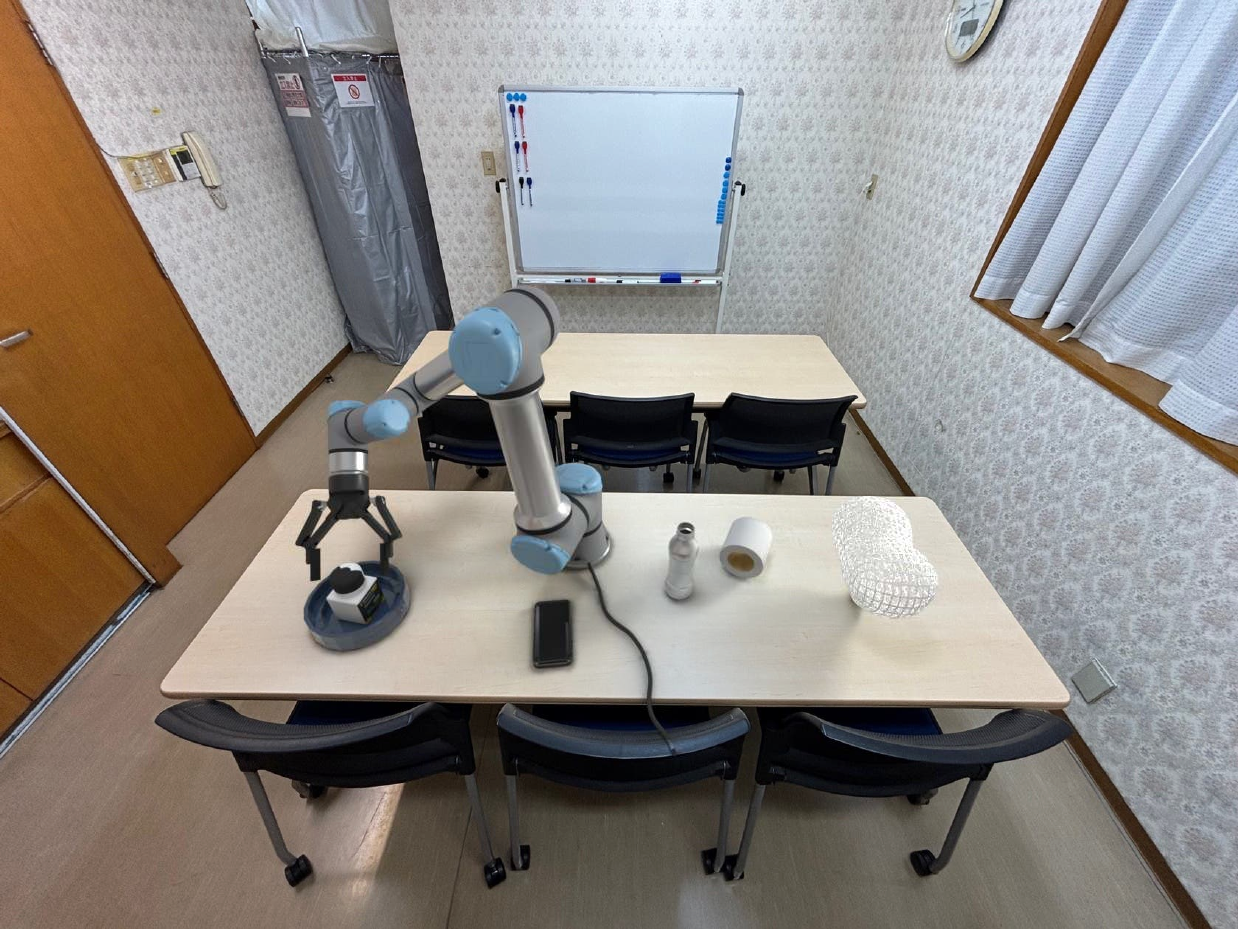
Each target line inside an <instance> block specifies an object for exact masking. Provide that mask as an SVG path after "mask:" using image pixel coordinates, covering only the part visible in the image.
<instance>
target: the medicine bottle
mask: <svg viewBox="0 0 1238 929" xmlns="http://www.w3.org/2000/svg"><path fill="white" fill-rule="evenodd" d="M356 563H357V562H345V563H342V564H340V565H338V566H336V567H335V568H334V569H332V571H331V572H330V574H329V575H330V576H329V575H328V576H329V582H330V584H331V586H332V588H333V590H332V592H331V593H330V594H329V595H328V597H327V598H326V599H327V601H328V603H329V605H330V606H331V608H332V610H333V612H334V614H335V616H336V617H337V619H340V620H345V621H350V622H355V623H360V624H365V625H367V624H368V623H369V621H370V620H371V618H372V617H373V615H374V614H375V613H376V611H377V610H378V608H379V607H380V605H381V604H382V603H383V601H384V600H385V596H384V594H383V591H382V589H381V587H380V585H379V582H378V580H377V578H376V577H371V576H365V575H364V573H363V571H362V569H361V567H360V566H359V565H358V564H356Z"/></svg>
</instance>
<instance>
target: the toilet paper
mask: <svg viewBox="0 0 1238 929" xmlns="http://www.w3.org/2000/svg"><path fill="white" fill-rule="evenodd" d="M772 541H773V532H772V530H771V528H770V526H768V524H767V523H765V522H764V521H762V520H760V519H759V518H756V517H752V516H741V517H738V518H736V519H734V521H732V523H731V525H730V528H729V530H728V532H727V535H726V537H725V539H724V542H723V544H722V546H721V548H720V551H719V555H718V559H719V562H720V565H721V566H722V567H723V569H724V570H726V571H727V572H728V573H730V574H731V575H733V576H735V577H738V578H743V579H752V578H756V577H758V576H759V575H761V574H762V572H763V570H764V567H765V564H766V560H767V557H768V554H769V551H770V548H771V545H772Z"/></svg>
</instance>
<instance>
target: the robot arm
mask: <svg viewBox="0 0 1238 929" xmlns="http://www.w3.org/2000/svg"><path fill="white" fill-rule="evenodd" d="M560 327H561V318H560V311H559V309H558V307H557V305H556V303H555V301H554V300H553V299H552V298H551V296H550V295H548V294H547V293H546V291H543V290H542V289H540V288H538V287H535V286H532V285H517V286H513V287H511V288H508V289H507V290H504V291H503V292H502V293H500V294H499V295H498V296H495V297H494V298H493V299H491V300H490V301H488V302H486V303H485V304H483V305H481V306H479V307H476V308H475V309H472V310H471V311H469V312H468V313H467V314H466V315H465V316H464V317H463V318H462V319H461V320H460V321H459V322H458V323H457V324H455V326H454V327H453V329H452V331H451V332H450V335H449V340H448V345H447V349H446V350H444V351H443V352H441V353H440V354H438V355H437V356H436V357H434V358H433V359H430V361H428V362H427V363H426V364H424V365H423V366H422V367H420V368H419V369H418V370H416V371H414V372H413V373H411V374H410V375H408V377H406V378H405V379H403V380H402V381H401V382H399V383H398V384H396V385H395V386H393V387H392V388H390V389H389V390H387V391H386V392H384V393H383V394H381V395H380V396H378V397H377V398H375V399H374V400H372V401H371V402H369V403H368V404H365V403H363V402H360V401H357V400H349V399H348V400H347V399H346V400H344V399H343V400H336V401H333V402H331V403H330V404H329V405H328V413H327V418H326V423H327V451H328V457H327V458H328V459H327V460H328V464H327V465H328V466H327V473H328V474H329V475H330V476H329V477H328V498H327V500H321V499H313V500H312V501H311V509H310V512H309V514H308V516H307V518H306V520H305V522H304V524H303V526H302V528H301V530H300V532H299V534H298V536H297V538H296V539H295V542H294V546H296V547H300V548H303V549H305V564H306V565H309V582H316V581H322V580H321V579H322V578H321V577H322V576H321V574H322V572H321V570H322V569H321V568H322V566H321V564H322V562H321V561H322V560H321V554H322V553H321V552H322V550H321V547H318V546H319V544H320V543H321V542H322V540H323V539H324V538H325V536H326V535H327V534H328V533H329V532H330V530H331V529H332V528H333V527H334V526H335V524H336V523H338V522H339V521H347V520H360V519H361V520H363V521H364V522H365V523H366V524H367V525H368V527H369V528H370V529H371V530H372V531H373V532H374V533H375V534H376V535H377V536H378V537H379V538H380V539H381V540H382V542H381V543H379V561H380V575H387V574H389V563H390V561H389V560H390V559H391V558H393V557H394V542H395V541H397V540H398V539H399V540H400V539H401V538H402V537H403V533H402V531H401V530H400V528H399V526H398V524H397V523H396V520H395V519H394V517H393V515H392V513H391V511H390V510H389V508H388V506H387V500H386V497H385V496H384V495H380V494H377V495H376V496H372V497H371V496H370V477H369V476H368V473H369V472H370V471H369V470H370V469H369V467H370V466H369V465H370V464H369V463H370V462H369V444H371V443H374V442H379V441H384V440H391V439H394V438H396V437H398V436H400V435H402V434H405V432H406V431H408V427H409V425H410V422H411V421H412V420H414V419H415V418H416V417H417V416H418V415H420V414H421V413H422V412H423V411H426V409H427V408H430V406H432V405H434V404H435V403H437V402H438V401H440V400H441V399H442V398H443V399H444V397H446V396H447V395H449V394H451V393H452V392H454V391H456V390H458V389H459V388H460V387H462V386H466V387H467V388H468V389H470V390H471V391H472V392H475V394H476V396H477V397H478V399H480V400H483V401H484V402H487V403H488V404H489V409H490V413H491V416H492V420H493V422H494V426H495V431H496V433H497V437H498V440H499V443H500V447H501V450H502V454H503V457H504V458H503V459H504V461H505V464H506V468H507V471H508V472H507V473H508V475H509V479H510V482H511V486H512V488H513V493H514V496H515V500H516V505H515V507H514V509H513V514H512V515H513V516H512V517H513V520H514V524H515V527H516V534H515V536H513V537H512V539H511V542H510V544H509V548H510V552H511V555H512V556H513V557H514V559H515V560H516V561H517V562H518V563H520V564H521V565H522V566H524V567H525V568H526V569H529V570H531V571H533V572H535V573H538V574H543V575H554V574H555V575H556V574H557V573H559V572H561V571H562V570H563V569H564V568H566V569H569V570H585V569H588V570H589V573H590V575H591V577H592V580H593V581H594V584H595V586H596V590H597V593H598V598H599V603H600V606H601V610H602V612H603V614H604V615H605V616H606V618H607V619H608V620H609V621H610V622H611V623H612V624H614V626H616V628H619V629H620V630H621V631H623V632H624V633H625V634H627V636H629V637H630V638H631V640H632V641H633V643H634V644H635V646H636V647H637V649H638V650H639V652H640V654H641V657H642V659H643V663H644V665H645V669H646V674H647V690H646V708H647V712H648V715H649V719H650V720H651V723H652V724H653V726H654V727H655V728H656V729H657V731H658V732H659V733H660V732H662V733H660V735H661V736H662V737H663V738H664V740H665V739H667V740H672V738H671V736H670V735H669V734H668V732H667V731H666V730H665V729H664V727H663V726H662V725H661V724H660V723H659V721H658V719H657V718H656V716H655V714H654V711H653V705H652V691H653V673H652V668H651V663H650V660H649V658H648V655H647V653H646V651H645V649H644V647H643V645H642V644H641V642H640V641H639V639H638V638H637V636H636V635H635V634H634V633H633V632H632V631H631V630H630V629H629V628H627V627H626V626H625V625H623V624H622V623H620V622H619V621H618V620H616V619H615V618H614V617H613V616H612V615H611V614H610V612H609V610H608V608H607V606H606V604H605V600H604V596H603V590H602V588H601V584H600V582H599V580H598V577H597V575H596V572H595V570H594V566H597V565H598V564H600V563H601V562H603V561H604V560H605V559H606V557H607V556H608V555H609V552H610V548H611V539H610V535H609V532H608V530H607V527H606V526H605V523H604V522H603V483H602V476H601V474H600V472H599V471H598V470H597V469H596V468H594V467H593V466H590V465H588V464H585V463H578V462H570V463H569V462H568V463H563V464H559V465H558V466H556V465H555V460H554V455H553V451H552V446H551V441H550V438H549V433H548V428H547V423H546V419H545V414H544V410H543V405H542V399H541V395H540V390H541V389H542V388H543V386H544V385H545V382H546V377H545V372H544V367H543V362H542V355H543V354H544V353H545V352H546V351H548V349H550V348H551V347H552V346H553V344H554V343H555V341H556V339H557V337H558V335H559V332H560ZM371 505H372V506H373V507H376V510H377V512H378V513H379V515H380V517H381V519H382V521H383V522H384V524H385V526H386V528H387V529H388V530H386V528H385V527H384V526H383V525H382V524H381V523H380V522H379V521H378V520H377V519H376V518H375V517H374V515H373V514H372V513H371V512H370V511H369V510H368V509H369V507H370V506H371ZM326 508H328V509H329V511H330V512H329V513H328V514H327V515H326V517H325V519H324V520H323V521H322V523H321V524H320V525H319V526H318V528H317V529H316V527H317V525H318V524H319V521H320V519H321V517H322V515H323V512H324V511H326ZM315 529H316V530H315ZM670 738H671V739H670ZM670 753H671V755H672V756H673V757H676V756H677V755H678V754H677V753H678V752H677V748H676V747H675V748H674V749H672V750H670Z"/></svg>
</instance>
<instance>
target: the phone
mask: <svg viewBox="0 0 1238 929" xmlns="http://www.w3.org/2000/svg"><path fill="white" fill-rule="evenodd" d="M533 614H534V617H533V642H532V665H533V666H534V667H535V668H538V669H541V668H553V667H564V666H570V665H571V664H572V663H573V661H574V659H573V656H574V651H573V649H574V647H573V646H574V645H573V644H574V642H573V640H574V639H573V628H572V627H573V626H572V625H573V624H572V603H571V601H570V600H569V599H554V600H553V599H552V600H540V601H537V602H536V603H535V604H534V613H533Z"/></svg>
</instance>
